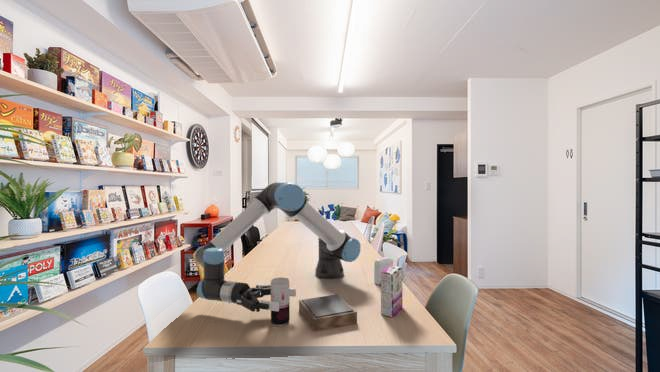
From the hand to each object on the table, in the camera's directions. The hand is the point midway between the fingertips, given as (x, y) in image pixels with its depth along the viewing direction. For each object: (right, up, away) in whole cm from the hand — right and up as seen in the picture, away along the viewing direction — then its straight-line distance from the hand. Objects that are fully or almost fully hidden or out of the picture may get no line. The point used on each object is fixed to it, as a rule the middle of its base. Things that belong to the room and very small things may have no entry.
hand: (287, 299), depth 110 cm
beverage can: (-3, -9, +1) cm, 9 cm away
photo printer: (+41, -8, +44) cm, 61 cm away
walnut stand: (+14, -8, +6) cm, 17 cm away
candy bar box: (+39, -8, +10) cm, 41 cm away
